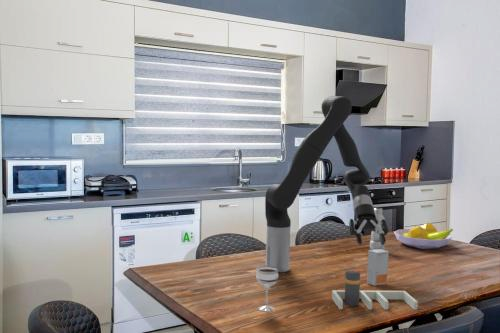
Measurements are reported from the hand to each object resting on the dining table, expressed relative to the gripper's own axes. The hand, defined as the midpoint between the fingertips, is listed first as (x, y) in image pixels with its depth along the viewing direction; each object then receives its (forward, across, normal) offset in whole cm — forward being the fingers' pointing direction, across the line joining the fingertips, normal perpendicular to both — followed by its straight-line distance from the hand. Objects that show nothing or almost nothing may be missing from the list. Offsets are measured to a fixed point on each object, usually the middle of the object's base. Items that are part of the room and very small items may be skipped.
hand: (371, 243), depth 173 cm
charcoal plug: (+29, -15, -11) cm, 35 cm away
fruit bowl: (-28, +43, +46) cm, 69 cm away
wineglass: (+32, -42, -14) cm, 55 cm away
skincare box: (+14, 0, +4) cm, 15 cm away
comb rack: (+29, -8, -11) cm, 32 cm away
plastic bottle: (-20, +16, +38) cm, 46 cm away
